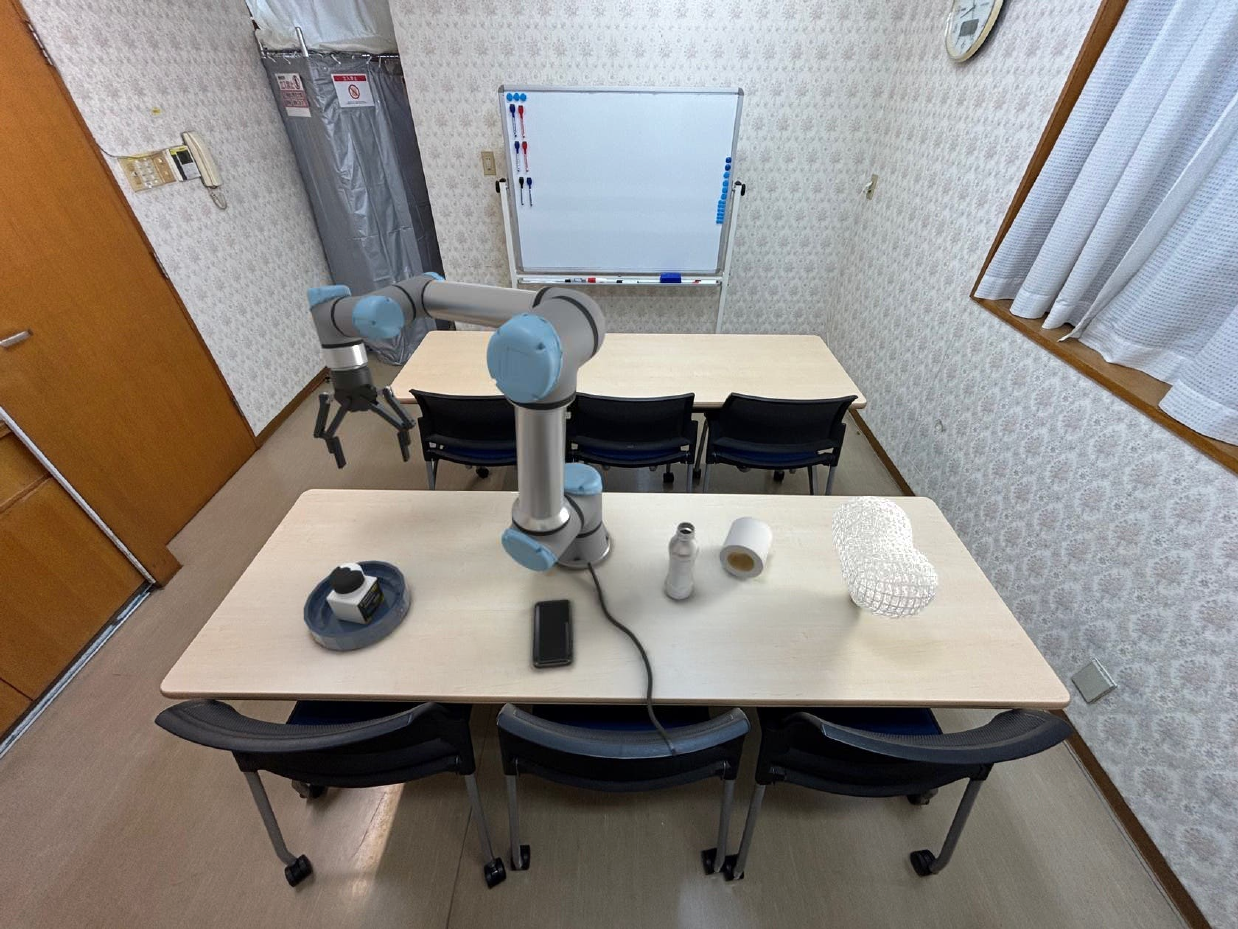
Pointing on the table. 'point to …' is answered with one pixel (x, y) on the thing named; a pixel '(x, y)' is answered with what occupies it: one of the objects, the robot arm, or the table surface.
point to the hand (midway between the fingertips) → (375, 463)
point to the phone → (552, 634)
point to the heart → (882, 559)
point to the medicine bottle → (354, 594)
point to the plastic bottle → (681, 562)
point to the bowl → (351, 633)
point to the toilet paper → (746, 547)
